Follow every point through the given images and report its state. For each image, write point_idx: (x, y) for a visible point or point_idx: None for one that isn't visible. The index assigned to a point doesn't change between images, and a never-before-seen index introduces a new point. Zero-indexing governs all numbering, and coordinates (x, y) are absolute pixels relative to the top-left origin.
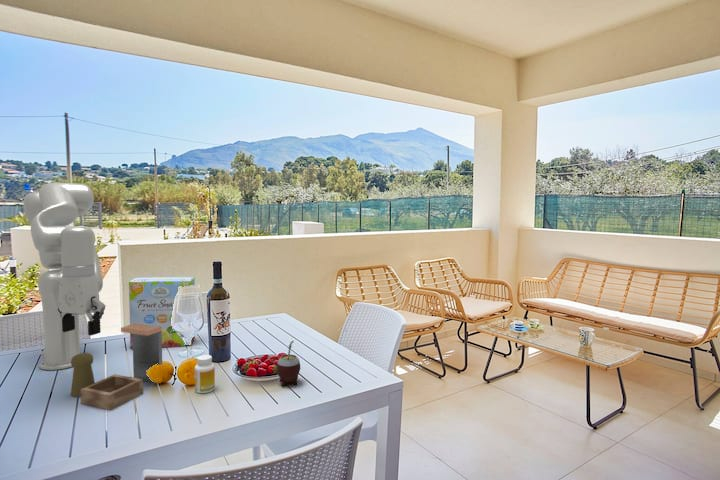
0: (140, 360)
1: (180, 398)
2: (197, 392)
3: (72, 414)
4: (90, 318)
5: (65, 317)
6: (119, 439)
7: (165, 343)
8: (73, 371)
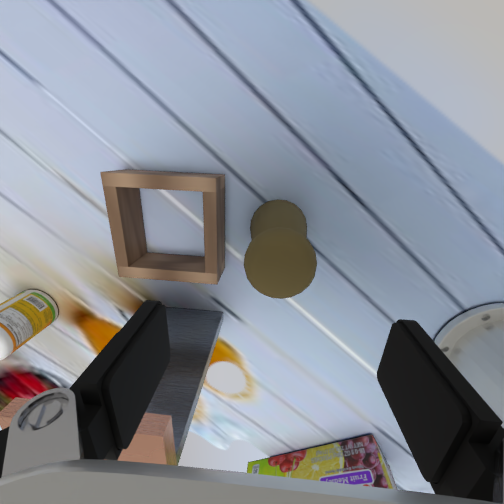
0: (183, 345)
1: (45, 261)
2: (36, 290)
3: (191, 121)
4: (58, 422)
5: (478, 445)
6: None
7: (297, 460)
8: (293, 228)
